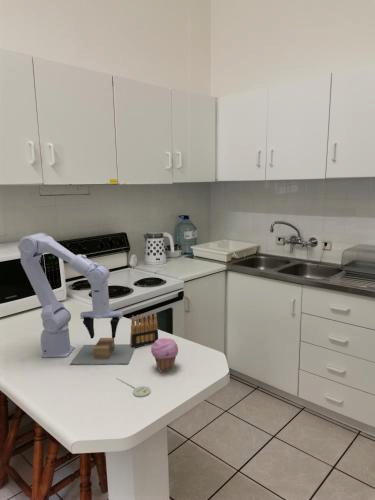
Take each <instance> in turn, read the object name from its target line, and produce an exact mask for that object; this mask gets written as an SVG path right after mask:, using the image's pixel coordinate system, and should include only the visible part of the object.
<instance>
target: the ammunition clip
mask: <svg viewBox="0 0 375 500" xmlns="http://www.w3.org/2000/svg"><path fill="white" fill-rule="evenodd" d="M152 314H153V315H152ZM157 317H158V316H157V313H156V311H154V313H152V312H150V313H149V316H148V313H145V315H144V314H142V313H141V315H140V317H139V314H137V315H136V317H135V315H132V317H131V326H130V339H129V340H130V342H129V343H130V346H131V347H132V348H133V347H135V348H138V347H142V346H146V345H153V344H154V342H155V341H156V340H158V339H159V329H158V319H157Z"/></svg>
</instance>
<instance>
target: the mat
mask: <svg viewBox="0 0 375 500" xmlns="http://www.w3.org/2000/svg"><path fill="white" fill-rule="evenodd" d="M95 345H96V344H83V345H82V347H81V348H80V349H79V351H78V352H77V354H76V355H75V356H74V358H73V359H72V360H71V361H70V363H69V365H70V366H95V365H97V366H99V365H101V366H102V365H103V366H104V365H105V366H106V365H107V366H108V365H110V366H111V365H112V366H113V365H115V366H116V365H117V366H118V365H120V366H121V365H124V366H126V365H129V363H130V361H131V359H132V356H133V354H134V351H135V350H136V347H133V348H132V347H131V346H130V344H129V343H128V344H126V343H125V344H121V343H120V344H115V343H114V345H115V348H114V350H113V352H112V354H111V355H110V357H109V359H94V351H93V348H94V347H95Z"/></svg>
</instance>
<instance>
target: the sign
mask: <svg viewBox="0 0 375 500" xmlns="http://www.w3.org/2000/svg"><path fill="white" fill-rule="evenodd" d="M115 379H116V380H118V381H120V382H122V383H123V384H126V385H127V386H129V387H130V388H132V389H133V390H132V394H133V396H134V397H136V398H145V397H148V396H149V395H150V394H151V392H152V390H151V387H149V386H146V385H142V386H137V387H134V386H133V385H131V384H129V383H127V382H125V381H123V380H121V379H120V378H117V377H116V378H115Z"/></svg>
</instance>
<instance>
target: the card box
mask: <svg viewBox="0 0 375 500" xmlns="http://www.w3.org/2000/svg"><path fill="white" fill-rule="evenodd" d="M114 344H115V338H112V337H100V338H99V339H98V341H97V342H96V344H94V345H95V347H94V348H93V351H94V359H109V357H110V355H111V354H112V352H113V350H114V348H115V345H114Z"/></svg>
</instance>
